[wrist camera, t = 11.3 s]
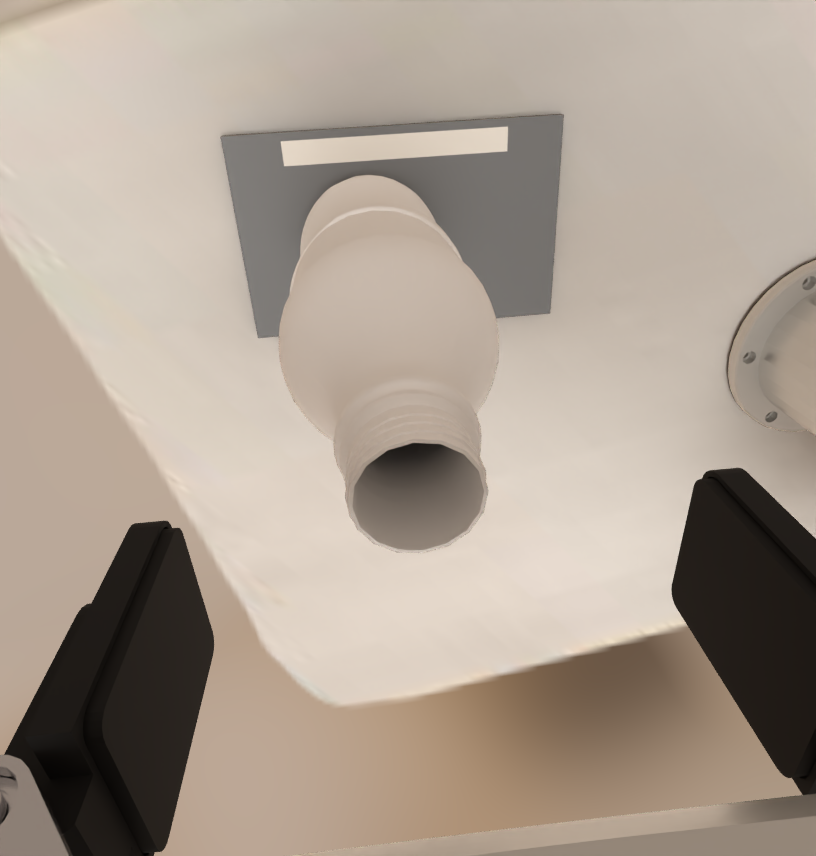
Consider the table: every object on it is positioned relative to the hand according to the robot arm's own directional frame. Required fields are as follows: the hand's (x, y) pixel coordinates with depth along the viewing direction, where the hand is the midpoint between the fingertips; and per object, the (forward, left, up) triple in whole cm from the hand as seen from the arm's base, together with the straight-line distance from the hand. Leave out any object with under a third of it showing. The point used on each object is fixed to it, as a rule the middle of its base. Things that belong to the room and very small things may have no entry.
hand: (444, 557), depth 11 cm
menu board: (-2, 0, -27) cm, 27 cm away
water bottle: (0, 0, -27) cm, 27 cm away
